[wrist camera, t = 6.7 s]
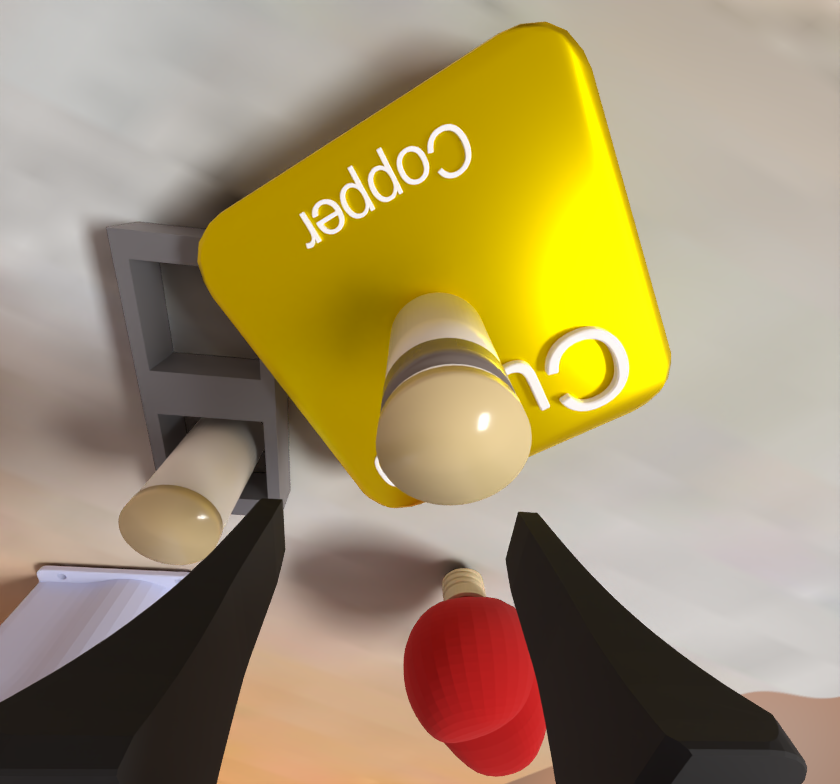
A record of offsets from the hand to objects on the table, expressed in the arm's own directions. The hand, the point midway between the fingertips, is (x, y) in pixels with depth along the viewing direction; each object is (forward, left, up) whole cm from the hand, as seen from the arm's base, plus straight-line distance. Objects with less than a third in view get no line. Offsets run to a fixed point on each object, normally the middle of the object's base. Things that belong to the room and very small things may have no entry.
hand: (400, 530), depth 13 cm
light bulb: (+5, -13, -10) cm, 18 cm away
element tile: (+2, +5, -11) cm, 12 cm away
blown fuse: (+1, +4, -6) cm, 7 cm away
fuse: (-9, -4, -10) cm, 14 cm away
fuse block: (-9, 0, -10) cm, 13 cm away
